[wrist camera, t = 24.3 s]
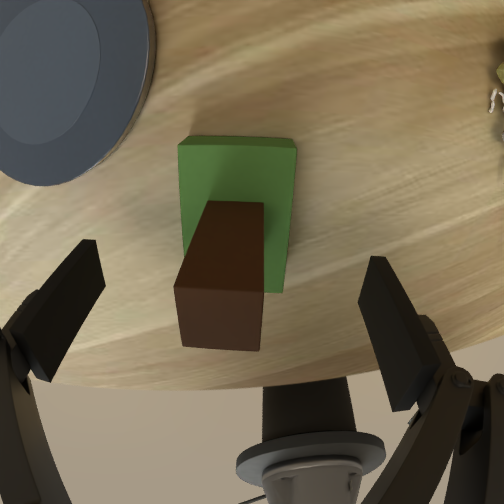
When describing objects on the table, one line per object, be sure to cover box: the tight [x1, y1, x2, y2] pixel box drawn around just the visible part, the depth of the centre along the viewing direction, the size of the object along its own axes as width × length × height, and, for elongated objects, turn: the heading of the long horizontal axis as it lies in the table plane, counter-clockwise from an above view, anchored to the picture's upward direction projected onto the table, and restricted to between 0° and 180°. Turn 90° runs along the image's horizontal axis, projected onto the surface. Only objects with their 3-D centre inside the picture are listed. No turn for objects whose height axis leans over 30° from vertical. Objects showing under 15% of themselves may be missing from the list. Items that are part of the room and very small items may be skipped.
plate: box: [0, 0, 156, 186], centre depth 14 cm, size 16×16×1 cm
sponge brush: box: [173, 136, 297, 351], centre depth 15 cm, size 9×6×10 cm, turn 178°
